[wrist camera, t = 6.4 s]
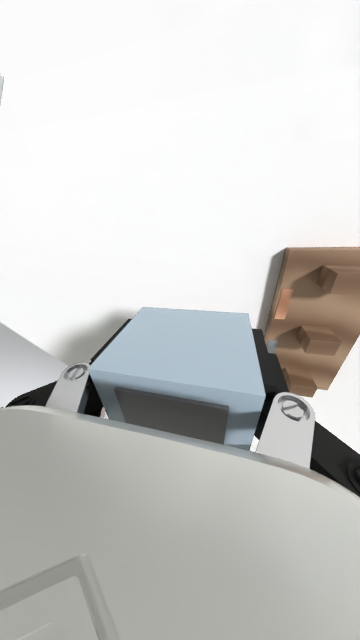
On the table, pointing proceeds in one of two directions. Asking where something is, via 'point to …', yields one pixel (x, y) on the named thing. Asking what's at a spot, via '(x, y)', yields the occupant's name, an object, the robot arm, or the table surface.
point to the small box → (1, 85)
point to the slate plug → (184, 375)
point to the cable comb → (315, 315)
